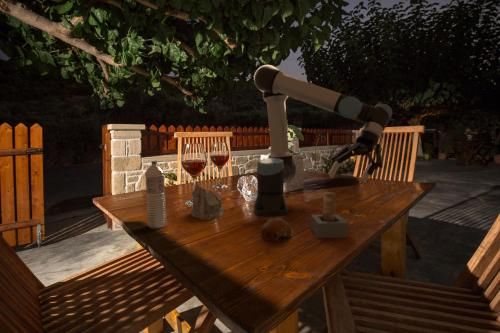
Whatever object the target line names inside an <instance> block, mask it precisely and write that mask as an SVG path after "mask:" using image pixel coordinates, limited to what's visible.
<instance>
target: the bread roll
mask: <svg viewBox="0 0 500 333" xmlns="http://www.w3.org/2000/svg"><path fill="white" fill-rule="evenodd" d="M291 235H292V231H291V226H290V225H289V223H288V222H286V221H285V220H283V219H281V218H273V219H267V221H266V222H265V223H264V224H263V225H262V226H261V237H263V239H264V240H265V241H268V242H272V243H278V242H279V243H280V242H286V241H288V240H289V239H290V237H291Z"/></svg>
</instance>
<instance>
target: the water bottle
mask: <svg viewBox="0 0 500 333" xmlns="http://www.w3.org/2000/svg"><path fill="white" fill-rule="evenodd" d="M157 164H158V163H157V160H154V161H153V160H152V161H151V166H149V167H148V168H147V170H145V172H144V174H145V175H144V177H145V191H146V195H145V196H146V197H145V198H146V210H147V212H146V214H147V226H148V228H149V229H153V230H154V229H163V228H164V227H165V226H167V207H166V206H167V203H166V190H165V188H166V187H165V171H164V170H163V168H162V167H161V166H158V165H157Z"/></svg>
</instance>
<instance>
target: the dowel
mask: <svg viewBox="0 0 500 333" xmlns="http://www.w3.org/2000/svg"><path fill="white" fill-rule="evenodd" d="M322 196H323V202H322V205H323V206H322V215H323V222H331V221H335V214H336V193H334V192H330V191H329V192H323V195H322Z"/></svg>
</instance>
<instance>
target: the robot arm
mask: <svg viewBox="0 0 500 333" xmlns="http://www.w3.org/2000/svg"><path fill="white" fill-rule="evenodd" d="M253 76H254V77H253V80H254V81H253V82H254V85H255V87H256V88H257V89H258V90H259V91H261V92H262V96H263V97H262V98H263V101H264V102H265V103H266V108H267V119H268V130H269V142H270V143H269V144H270V146H269V147H270V154H269V155H268V158H263V159H260V160H259V161H258V162H257V164H256V165H257V166H256V183H257V184H256V185H257V186H256V188H257V191H256V193H257V195H256V198H255V201H254V204H253V213H254V214H255V215H258V216H261V217H281V216H284V215H286V214H288V203H287V201H286V198H285V194H284V193H285V192H284V189H285V188H284V187H285V186H284V185H285V184H287V183H289V182H290V181H292V180H293V179H294V178H295V177H296V174H297V165H296V163H295V162H294V158H293V153H291V151H290V150H289V149H290V148H289V147H290V146H289V136H288V134H289V133H288V124H287V123H288V121H287V108H286V100H287V99H288V98H289V97H290V98H292V99H295V100H298V101H300V102H304V103H306V104H309V105H311V106H315V107H318V108H320V109H322V110H326V111H329V112H331V113H334V114H335V115H338V116H341V117H343V118H346V119H351V120H353V121H356V122H359V123H361V124H363V126H362V129H361V130H360V132H359V134H358V135H357V136H356V140H355V143H353V144H350V142H347V143H345V146H343V148H342V149H339V151H338V152H336V153H335V154H334V155H332V156H330V160H331V161H332V164H331V166H330V170H329V172H328V173H327V175H328V176H329V177H330V179H334V177H335V175H336V173H337V171H338V170H339V168H340V166H341V165H340V164H343V163H344V162H345V161H347V160H348V159H350V158H352V157H353V158H354V157H356V156H358V157H359V156H361V157H364V156H367V159H368V161H369V162H370V163H368V164H367V166H366V167H365V170H364V172H363V173H362V175H361V177H360V180H361V181H362V182H363V184H366V183H367V181H368V180H369V177H370V175H371V176H372V175H373V174H374V172H375V170H376V169H377V168H380V169H381V168H383V161H382V160H383V159H382V158H383V157H382V150H383V147H382V146H381V144H380V143H378V142H379V140H380V138H381V136H382V134H383V133H384V132H385V129H386V127H387V125H388V124H389V123H390V120H391V118H392V116H393V109H392V107H391V106H390V105H388V104H385V103H378V104H377V103H376V105H375V106H373V105H368V104H367V103H364V102H362V101H360V100H359V99H358V98H357V97H354V96H348V95H346V94H344V93H340V92H337V91H334V90H332V89H329V88H325V87H322V86H320V85H317V84H314V83H311V82H307V81H305V80H302V79H298V78H296V77H294V76H293V77H292V76H290V75H288V74H287V73H286V72H285V71H284V70H282V69H279V68H277V67H276V66H274V65H270V64H264V65H261V66H259V67H258V69H257V70H256V71H255V72H254V75H253ZM373 151H375V160H376V162H375V161H374V158H373V156H372V155H371V152H373Z"/></svg>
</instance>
